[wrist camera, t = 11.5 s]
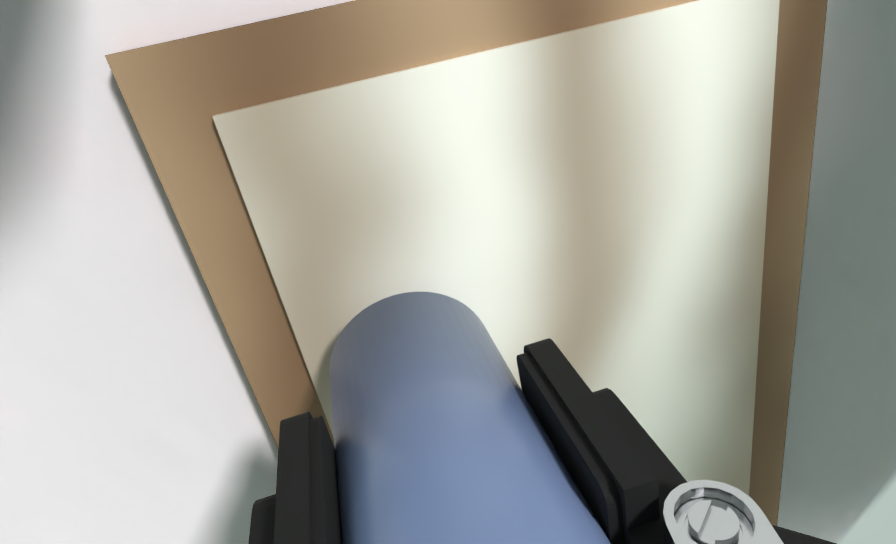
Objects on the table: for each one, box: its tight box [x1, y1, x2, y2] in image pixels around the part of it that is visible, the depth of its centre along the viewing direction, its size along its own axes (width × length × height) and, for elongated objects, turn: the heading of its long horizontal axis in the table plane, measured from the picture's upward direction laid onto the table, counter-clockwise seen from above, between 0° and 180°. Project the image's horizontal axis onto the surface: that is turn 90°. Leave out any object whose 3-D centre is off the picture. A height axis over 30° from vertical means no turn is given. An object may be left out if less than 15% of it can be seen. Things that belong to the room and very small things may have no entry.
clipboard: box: [105, 0, 827, 526], centre depth 17 cm, size 16×22×2 cm
